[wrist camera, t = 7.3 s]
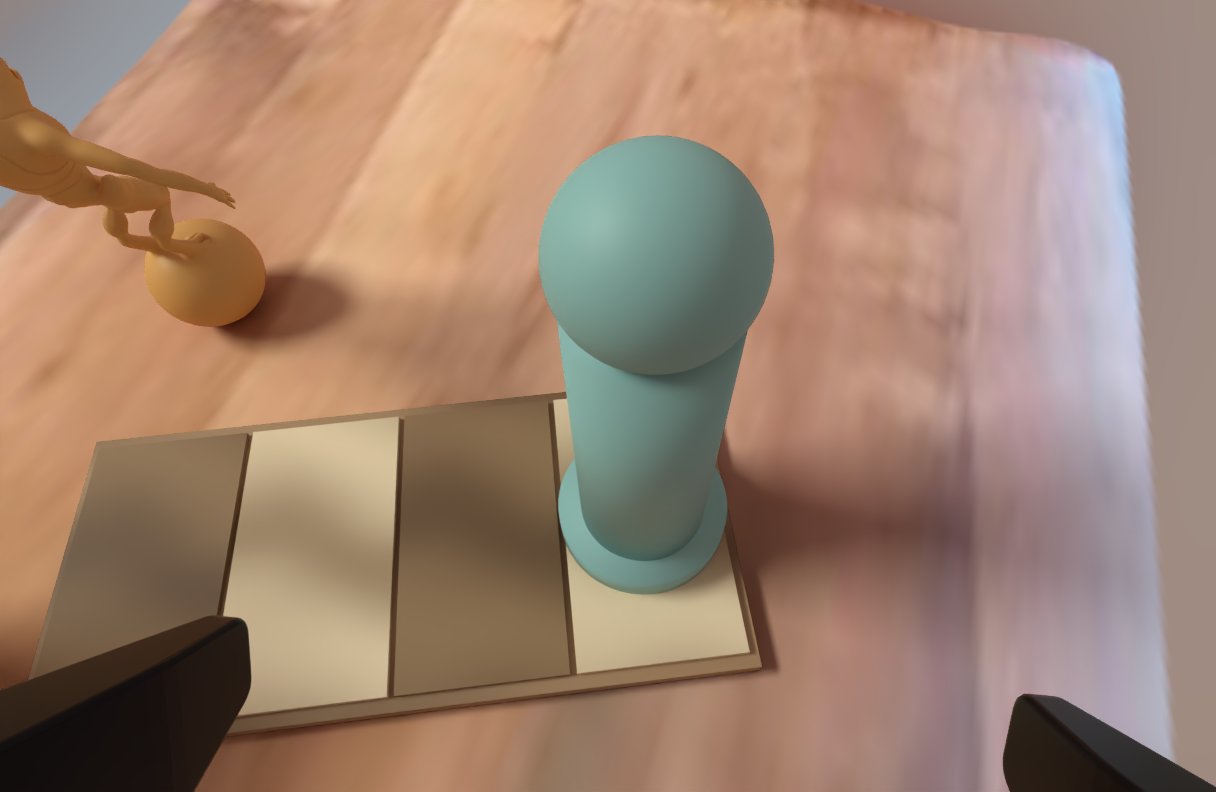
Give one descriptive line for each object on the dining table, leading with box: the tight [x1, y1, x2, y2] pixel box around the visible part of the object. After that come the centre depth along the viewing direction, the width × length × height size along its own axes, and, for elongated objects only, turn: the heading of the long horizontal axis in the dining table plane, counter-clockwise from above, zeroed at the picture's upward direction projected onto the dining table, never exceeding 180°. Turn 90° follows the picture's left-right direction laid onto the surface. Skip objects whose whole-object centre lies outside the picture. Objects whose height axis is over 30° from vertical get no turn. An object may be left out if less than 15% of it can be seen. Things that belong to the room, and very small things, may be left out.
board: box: [28, 392, 762, 737], centre depth 23 cm, size 10×21×1 cm, turn 97°
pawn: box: [539, 136, 774, 595], centre depth 17 cm, size 5×5×14 cm
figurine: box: [0, 58, 266, 327], centre depth 23 cm, size 8×6×12 cm
